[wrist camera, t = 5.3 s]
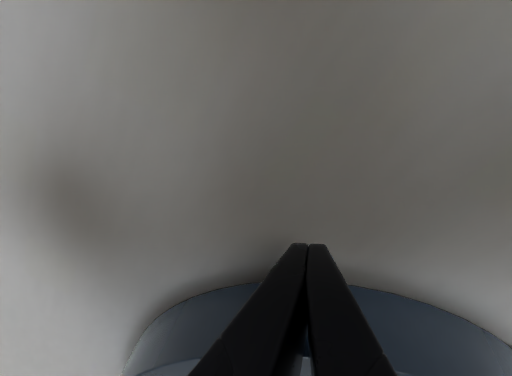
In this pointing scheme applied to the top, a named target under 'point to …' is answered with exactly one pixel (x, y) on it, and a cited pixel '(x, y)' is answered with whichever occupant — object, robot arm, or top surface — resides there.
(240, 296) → the plate
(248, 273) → the top surface
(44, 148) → the top surface
